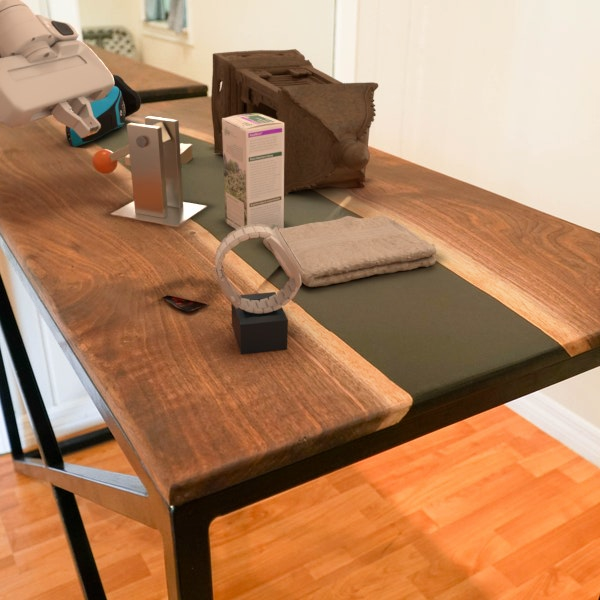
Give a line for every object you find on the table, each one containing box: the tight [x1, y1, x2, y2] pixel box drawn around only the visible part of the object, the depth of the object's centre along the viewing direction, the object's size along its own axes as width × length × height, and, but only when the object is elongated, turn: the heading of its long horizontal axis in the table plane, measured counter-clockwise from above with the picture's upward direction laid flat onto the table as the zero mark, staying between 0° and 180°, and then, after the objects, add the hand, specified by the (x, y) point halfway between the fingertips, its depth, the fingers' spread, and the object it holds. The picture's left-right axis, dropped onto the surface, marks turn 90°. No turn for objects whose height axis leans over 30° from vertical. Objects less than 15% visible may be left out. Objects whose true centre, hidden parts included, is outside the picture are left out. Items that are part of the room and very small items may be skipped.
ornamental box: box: [210, 48, 379, 196], centre depth 101 cm, size 35×18×18 cm, turn 27°
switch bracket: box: [110, 115, 208, 229], centre depth 85 cm, size 10×8×13 cm
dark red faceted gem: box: [157, 294, 208, 313], centre depth 68 cm, size 5×5×1 cm
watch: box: [213, 224, 304, 355], centre depth 60 cm, size 6×8×11 cm
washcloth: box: [262, 215, 437, 288], centre depth 78 cm, size 12×18×3 cm, turn 116°
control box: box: [124, 142, 194, 167], centre depth 108 cm, size 10×8×4 cm
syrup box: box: [222, 113, 285, 230], centre depth 81 cm, size 6×6×14 cm
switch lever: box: [91, 122, 171, 175], centre depth 85 cm, size 12×3×3 cm, turn 69°
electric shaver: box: [65, 74, 142, 148], centre depth 124 cm, size 9×26×10 cm
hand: (92, 132), depth 87 cm, fingers closed
